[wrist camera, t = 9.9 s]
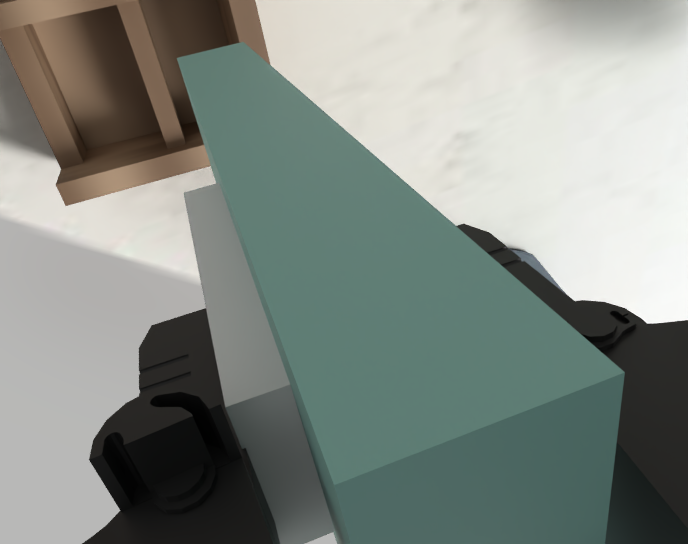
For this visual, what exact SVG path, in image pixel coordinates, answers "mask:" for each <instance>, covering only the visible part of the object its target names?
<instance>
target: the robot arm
mask: <svg viewBox="0 0 688 544" xmlns="http://www.w3.org/2000/svg"><path fill="white" fill-rule="evenodd" d="M184 197H185V203H186V208H187V213H188V218H189V223H190V228H191V233H192V238H193V244H194V249H195V254H196V259H197V264H198V269H199V274H200V280H201V285H202V289H203V295H204V300H205V305H206V308H205V309H202V310H199V311H196V312H192V313H189V314H186V315H183V316H180V317H177V318H174V319H171V320H167V321H164V322H161V323H158V324H155V325H152V326H151V328H150V329H149V331H148V333H147V335H146V337H145V339H144V340H143V342H142V344H141V346H140V347H139V371H140V375H139V389H140V394H139V397H137V398H135V399H133V400H131V401H129V402H128V403H126V404H125V405H124V406H122V407H121V408H120V409H119V410H118V411H117V412H115V413H114V414H113V415H112V416H111V417H110V418H109V419H107V420H106V422H105V423H104V425H103V426H102V428H101V429H100V431H99V432H98V434H97V435H96V437H95V438H94V440H93V444H92V449H91V454H90V459H89V460H90V462H91V464H92V465H93V467H94V468H95V470H96V472H97V473H98V475H99V476H100V478H101V480H102V481H103V483H104V485H105V486H106V488H107V489H108V491H109V493H110V494H111V496H112V497H113V499H114V501H115V502H116V504H117V506H118V507H119V509H120V510H121V511H120V512H119V513H118V514H117V515H116V516H115V517H114V518H113V519H112V520H111V521H110V522H109V523H108V524H107V525H106V526H105V527H104V528H103V529H101V530H100V531H99V532H97V533H96V534H95V535H94V536H93V537H91V538H90V539H88V540H87V541H85V542H84V543H82V544H304V543H307V542H309V541H312V540H314V539H317V538H319V537H322V536H324V535H327V534H329V533H331V532H334V531H335V530H334V526H333V523H332V520H331V516H330V513H329V510H328V507H327V503H326V500H325V497H324V493H323V490H322V487H321V484H320V480H319V477H318V474H317V471H316V467H315V464H314V461H313V457H312V454H311V451H310V448H309V444H308V441H307V438H306V434H305V431H304V428H303V425H302V421H301V418H300V415H299V412H298V408H297V405H296V402H295V398H294V395H293V392H292V389H291V385H290V382H289V380H288V377H287V374H286V371H285V368H284V365H283V363H282V360H281V357H280V354H279V351H278V348H277V346H276V343H275V340H274V337H273V334H272V331H271V329H270V326H269V323H268V320H267V317H266V314H265V312H264V309H263V306H262V303H261V300H260V297H259V295H258V292H257V289H256V286H255V283H254V280H253V278H252V275H251V272H250V269H249V266H248V263H247V261H246V258H245V255H244V252H243V249H242V246H241V244H240V241H239V238H238V235H237V232H236V229H235V227H234V224H233V221H232V218H231V215H230V212H229V210H228V207H227V204H226V201H225V198H224V195H223V193H222V190H221V187H220V184H219V183H217V184H213V185H210V186H206V187H203V188H199V189H196V190H192V191H189V192H185V193H184ZM456 227H458V228H459V229H460V230H461V231H462V232H463V233H465V234H466V235H467V236H468V237H469V238H470V239H471V240H473V241H474V242H475V243H476V244H477V245H478V246H480V247H481V248H482V249H483V250H484V251H485V252H486V253H488V254H489V255H490V256H491V257H492V258H493V259H495V260H496V261H497V262H498V263H499V264H500V265H501V266H503V267H504V268H505V269H506V270H507V271H508V272H510V273H511V274H512V275H513V276H514V277H515V278H516V279H518V280H519V281H520V282H521V283H522V284H523V285H525V286H526V287H527V288H528V289H529V290H530V291H531V292H533V293H534V294H535V295H536V296H537V297H538V298H540V299H541V300H542V301H543V302H544V303H545V304H546V305H548V306H549V307H550V308H551V309H552V310H553V311H555V312H556V313H557V314H558V315H559V316H560V317H561V318H563V319H564V320H565V321H566V322H567V323H568V324H570V325H571V326H572V327H573V328H574V329H575V330H576V331H578V332H579V333H580V334H581V335H582V336H583V337H585V338H586V339H587V340H588V341H589V342H590V343H591V344H593V345H594V346H595V347H596V348H597V349H598V350H600V351H601V352H602V353H603V354H604V355H605V356H606V357H608V358H609V359H610V360H611V361H612V362H613V363H615V364H616V365H617V366H618V367H619V368H620V369H621V370H623V371H624V372H625V375H624V384H623V392H622V401H621V409H620V418H619V427H618V435H617V444H616V453H615V461H614V470H613V478H612V487H611V496H610V504H609V513H608V521H607V530H606V539H605V544H688V320H685V321H676V322H666V323H657V324H647V323H646V322H645V321H643V320H642V319H641V318H640V317H638V316H636V315H635V314H633V313H631V312H630V311H628V310H627V309H625V308H622V307H619V306H616V305H612V304H609V303H606V302H597V301H585V300H581V301H574V300H572V299H571V298H570V297H569V296H567V295H566V294H565V293H564V292H563V291H561V290H560V289H559V288H558V287H556V286H555V285H554V284H553V283H551V282H550V281H549V280H548V279H546V278H545V277H544V276H543V275H541V274H540V273H539V272H538V271H536V270H535V269H534V268H533V267H531V266H530V265H529V264H528V263H526V262H525V261H523V262H522V261H521V258H520V257H519V256H518V255H517V254H515V253H514V252H513V251H512V250H510V249H509V250H507V247H506V246H505V245H504V244H503V243H502V242H500V241H499V240H498V239H497V238H495V237H494V236H493V235H492V234H490V233H489V232H486V231H483V230H480V229H478V228H475V227H472V226H469V225H466V224H461V225H458V226H456Z"/></svg>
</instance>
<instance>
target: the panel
mask: <svg viewBox="0 0 688 544" xmlns="http://www.w3.org/2000/svg"><path fill="white" fill-rule="evenodd" d="M177 61H178V64H179V67H180V70H181V73H182V76H183V80H184V83H185V86H186V89H187V92H188V95H189V98H190V102H191V105H192V108H193V111H194V114H195V117H196V120H197V124H198V127H199V130H200V133H201V136H202V139H203V143H204V146H205V149H206V152H207V155H208V158H209V161H210V165H211V168H212V171H213V174H214V177H215V180H216V183H219V184H220V187H221V190H222V193H223V195H224V198H225V201H226V204H227V207H228V210H229V212H230V215H231V218H232V221H233V224H234V227H235V229H236V232H237V235H238V238H239V241H240V244H241V246H242V249H243V252H244V255H245V258H246V261H247V263H248V266H249V269H250V272H251V275H252V278H253V280H254V283H255V286H256V289H257V292H258V295H259V297H260V300H261V303H262V306H263V309H264V312H265V314H266V317H267V320H268V323H269V326H270V329H271V331H272V334H273V337H274V340H275V343H276V346H277V348H278V351H279V354H280V357H281V360H282V363H283V365H284V368H285V371H286V374H287V377H288V380H289V382H290V385H291V389H292V392H293V395H294V398H295V402H296V405H297V408H298V412H299V415H300V418H301V421H302V425H303V428H304V431H305V434H306V438H307V441H308V444H309V448H310V451H311V454H312V457H313V461H314V464H315V467H316V471H317V474H318V477H319V480H320V484H321V487H322V490H323V493H324V497H325V500H326V503H327V507H328V510H329V513H330V516H331V520H332V523H333V526H334V530H335V531H334V535H335V538H336V541H337V544H605V539H606V530H607V521H608V513H609V504H610V496H611V487H612V478H613V470H614V461H615V453H616V444H617V435H618V427H619V418H620V409H621V401H622V392H623V384H624V375H625V372H624V371H623V370H621V369H620V368H619V367H618V366H617V365H616V364H615V363H613V362H612V361H611V360H610V359H609V358H608V357H606V356H605V355H604V354H603V353H602V352H601V351H600V350H598V349H597V348H596V347H595V346H594V345H593V344H591V343H590V342H589V341H588V340H587V339H586V338H585V337H583V336H582V335H581V334H580V333H579V332H578V331H576V330H575V329H574V328H573V327H572V326H571V325H570V324H568V323H567V322H566V321H565V320H564V319H563V318H561V317H560V316H559V315H558V314H557V313H556V312H555V311H553V310H552V309H551V308H550V307H549V306H548V305H546V304H545V303H544V302H543V301H542V300H541V299H540V298H538V297H537V296H536V295H535V294H534V293H533V292H531V291H530V290H529V289H528V288H527V287H526V286H525V285H523V284H522V283H521V282H520V281H519V280H518V279H516V278H515V277H514V276H513V275H512V274H511V273H510V272H508V271H507V270H506V269H505V268H504V267H503V266H501V265H500V264H499V263H498V262H497V261H496V260H495V259H493V258H492V257H491V256H490V255H489V254H488V253H486V252H485V251H484V250H483V249H482V248H481V247H480V246H478V245H477V244H476V243H475V242H474V241H473V240H471V239H470V238H469V237H468V236H467V235H466V234H465V233H463V232H462V231H461V230H460V229H459V228H458V227H456V226H455V225H454V224H453V223H452V222H451V221H450V220H448V219H447V218H446V217H445V216H444V215H443V214H441V213H440V212H439V211H438V210H437V209H436V208H434V207H433V206H432V205H431V204H430V203H429V202H428V201H426V200H425V199H424V198H423V197H422V196H421V195H419V194H418V193H417V192H416V191H415V190H414V189H413V188H411V187H410V186H409V185H408V184H407V183H406V182H404V181H403V180H402V179H401V178H400V177H399V176H398V175H396V174H395V173H394V172H393V171H392V170H391V169H389V168H388V167H387V166H386V165H385V164H384V163H383V162H381V161H380V160H379V159H378V158H377V157H376V156H374V155H373V154H372V153H371V152H370V151H369V150H368V149H366V148H365V147H364V146H363V145H362V144H361V143H359V142H358V141H357V140H356V139H355V138H354V137H353V136H351V135H350V134H349V133H348V132H347V131H346V130H344V129H343V128H342V127H341V126H340V125H339V124H338V123H336V122H335V121H334V120H333V119H332V118H331V117H329V116H328V115H327V114H326V113H325V112H324V111H323V110H321V109H320V108H319V107H318V106H317V105H316V104H314V103H313V102H312V101H311V100H310V99H309V98H308V97H306V96H305V95H304V94H303V93H302V92H301V91H299V90H298V89H297V88H296V87H295V86H294V85H293V84H291V83H290V82H289V81H288V80H287V79H286V78H284V77H283V76H282V75H281V74H280V73H279V72H278V71H276V70H275V69H274V68H273V67H272V66H271V65H269V64H268V63H267V62H266V61H265V60H264V59H263V58H261V57H260V56H259V55H258V54H257V53H256V52H254V51H253V50H252V49H251V48H250V47H249V46H248V45H246V44H245V43H244V42H241V43H236V44H232V45H228V46H224V47H220V48H216V49H212V50H208V51H203V52H199V53H195V54H191V55H187V56H183V57H179V58H177Z"/></svg>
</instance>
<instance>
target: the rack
mask: <svg viewBox="0 0 688 544" xmlns="http://www.w3.org/2000/svg"><path fill="white" fill-rule="evenodd" d="M0 39H1V41H2V43H3V46H4V48H5V50H6V52H7V54H8V56H9V58H10V60H11V63H12V65H13V67H14V69H15V71H16V73H17V75H18V78H19V80H20V82H21V84H22V86H23V88H24V90H25V93H26V95H27V97H28V99H29V101H30V103H31V105H32V108H33V110H34V112H35V114H36V116H37V118H38V120H39V123H40V125H41V127H42V129H43V131H44V133H45V135H46V138H47V140H48V142H49V144H50V146H51V148H52V150H53V153H54V155H55V157H56V159H57V161H58V163H59V165H60V167H61V171H60V174H59V177H58V180H57V183H56V186H57V188H58V190H59V193H60V195H61V197H62V199H63V201H64V203H65V205H66V206H67V205H71V204H75V203H78V202H82V201H85V200H89V199H93V198H96V197H100V196H103V195H107V194H111V193H114V192H118V191H122V190H125V189H129V188H132V187H136V186H140V185H143V184H147V183H151V182H154V181H158V180H161V179H165V178H169V177H172V176H176V175H179V174H183V173H187V172H190V171H194V170H198V169H201V168H205V167H208V166H211V165H210V161H209V158H208V155H207V152H206V149H205V146H204V143H203V139H202V136H201V133H200V130H199V127H198V124H197V120H196V117H195V114H194V111H193V108H192V105H191V102H190V98H189V95H188V92H187V89H186V86H185V83H184V80H183V76H182V73H181V70H180V67H179V64H178V61H177V58H179V57H183V56H187V55H191V54H195V53H199V52H203V51H208V50H212V49H216V48H220V47H224V46H228V45H232V44H236V43H241V42H244V43H245V44H246V45H248V46H249V47H250V48H251V49H252V50H253V51H254V52H256V53H257V54H258V55H259V56H260V57H261V58H263V59H264V60H265V61H266V62H267V63H268V64H269V65H270V62H269V57H268V53H267V49H266V45H265V40H264V36H263V32H262V28H261V23H260V19H259V15H258V11H257V6H256V2H255V0H0Z"/></svg>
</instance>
